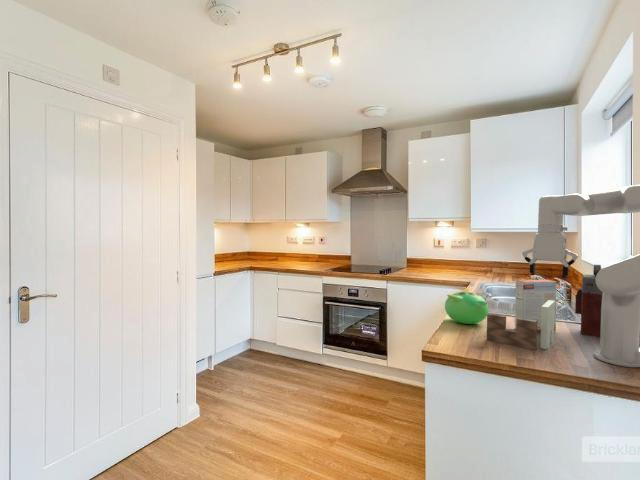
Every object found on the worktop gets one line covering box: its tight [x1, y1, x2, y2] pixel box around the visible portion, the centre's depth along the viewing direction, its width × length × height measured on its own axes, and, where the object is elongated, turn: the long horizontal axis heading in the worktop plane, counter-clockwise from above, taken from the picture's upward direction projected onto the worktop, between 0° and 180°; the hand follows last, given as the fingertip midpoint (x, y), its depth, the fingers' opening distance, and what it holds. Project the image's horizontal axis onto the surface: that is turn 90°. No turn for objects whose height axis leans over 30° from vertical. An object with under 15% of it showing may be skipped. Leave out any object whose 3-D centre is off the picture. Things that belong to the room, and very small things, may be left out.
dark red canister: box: [574, 264, 603, 338], centre depth 139 cm, size 9×11×28 cm
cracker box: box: [515, 279, 557, 333], centre depth 144 cm, size 14×6×21 cm, turn 92°
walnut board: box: [486, 312, 538, 351], centre depth 127 cm, size 16×2×10 cm, turn 48°
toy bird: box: [444, 289, 489, 325], centre depth 154 cm, size 18×17×15 cm
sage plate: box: [540, 300, 555, 350], centre depth 127 cm, size 2×14×15 cm, turn 137°
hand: (548, 276), depth 127 cm, fingers open, 9 cm apart
